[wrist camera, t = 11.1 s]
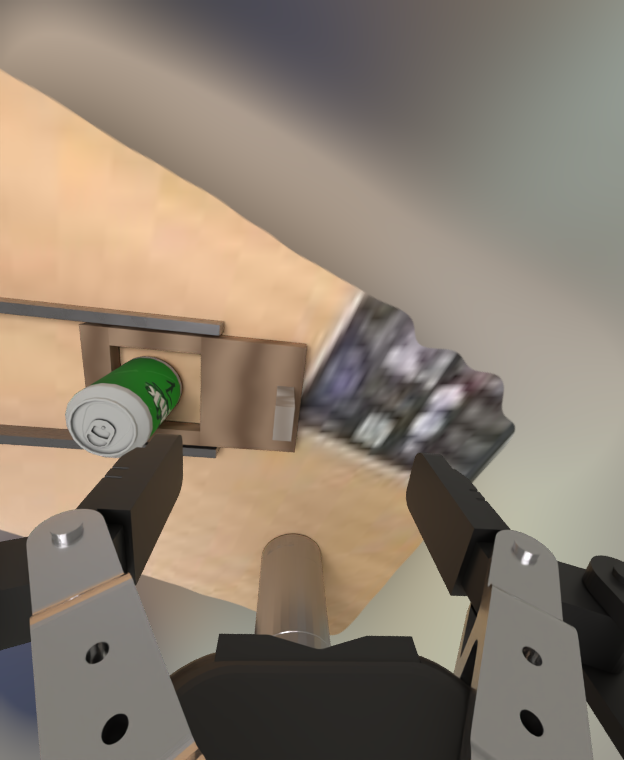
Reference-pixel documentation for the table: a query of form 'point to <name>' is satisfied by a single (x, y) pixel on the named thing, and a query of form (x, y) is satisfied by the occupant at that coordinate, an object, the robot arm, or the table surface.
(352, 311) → the table surface
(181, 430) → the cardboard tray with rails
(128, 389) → the soda can
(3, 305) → the lane rails
